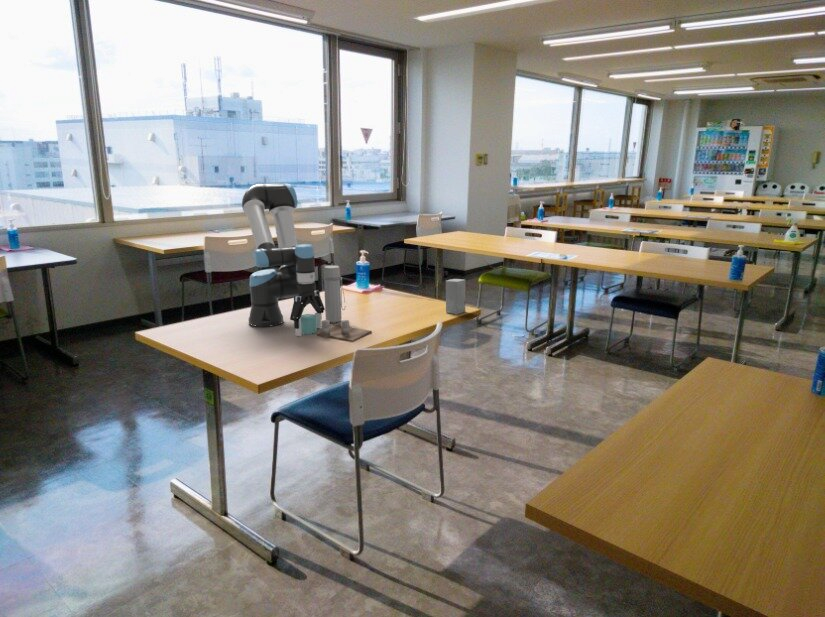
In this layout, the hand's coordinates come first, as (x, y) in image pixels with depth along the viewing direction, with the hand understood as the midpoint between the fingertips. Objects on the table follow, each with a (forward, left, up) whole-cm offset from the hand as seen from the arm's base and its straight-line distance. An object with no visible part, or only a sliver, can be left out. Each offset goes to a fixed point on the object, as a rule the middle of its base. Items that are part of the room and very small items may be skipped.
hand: (308, 331), depth 236 cm
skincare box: (+41, +59, 0) cm, 72 cm away
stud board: (+15, +5, 0) cm, 16 cm away
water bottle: (0, +19, 0) cm, 19 cm away
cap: (0, 0, 0) cm, 0 cm away
